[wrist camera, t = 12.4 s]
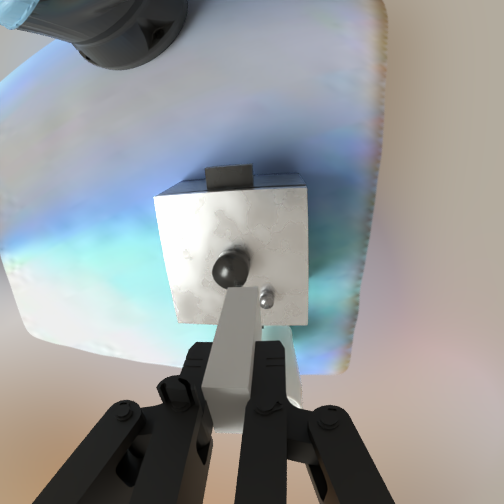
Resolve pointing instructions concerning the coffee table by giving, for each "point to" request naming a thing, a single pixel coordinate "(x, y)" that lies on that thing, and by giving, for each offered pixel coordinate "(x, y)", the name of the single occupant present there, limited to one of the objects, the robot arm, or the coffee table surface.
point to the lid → (236, 251)
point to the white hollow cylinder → (287, 361)
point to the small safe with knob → (235, 180)
